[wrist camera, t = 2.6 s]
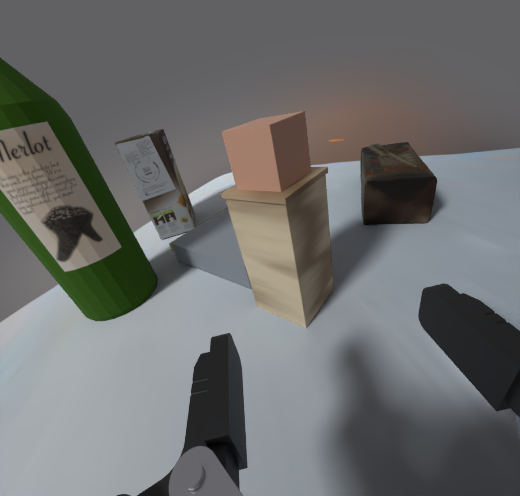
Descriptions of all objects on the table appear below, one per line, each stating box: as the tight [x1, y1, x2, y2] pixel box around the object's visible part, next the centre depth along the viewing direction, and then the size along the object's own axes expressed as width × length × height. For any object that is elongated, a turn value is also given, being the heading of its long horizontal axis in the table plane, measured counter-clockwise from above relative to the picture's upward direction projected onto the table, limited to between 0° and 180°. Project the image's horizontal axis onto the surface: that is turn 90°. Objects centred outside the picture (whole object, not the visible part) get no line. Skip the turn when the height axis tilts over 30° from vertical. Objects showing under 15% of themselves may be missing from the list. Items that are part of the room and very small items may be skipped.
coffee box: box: [115, 129, 195, 239], centre depth 43 cm, size 9×6×16 cm
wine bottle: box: [0, 58, 157, 321], centre depth 23 cm, size 9×9×32 cm
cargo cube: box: [222, 111, 311, 192], centre depth 18 cm, size 4×4×4 cm
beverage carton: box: [361, 142, 437, 224], centre depth 38 cm, size 8×19×7 cm, turn 163°
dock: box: [169, 207, 252, 289], centre depth 35 cm, size 14×14×3 cm
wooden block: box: [221, 167, 334, 328], centre depth 22 cm, size 6×6×12 cm
